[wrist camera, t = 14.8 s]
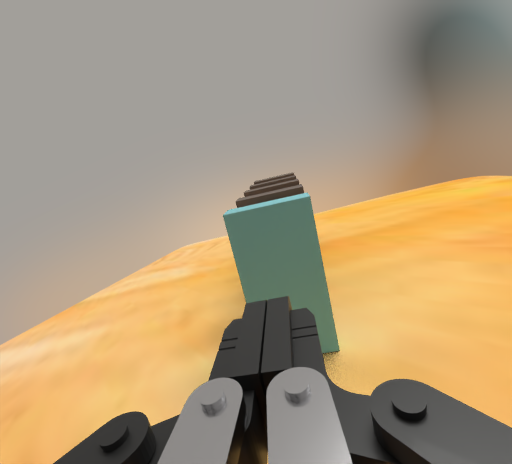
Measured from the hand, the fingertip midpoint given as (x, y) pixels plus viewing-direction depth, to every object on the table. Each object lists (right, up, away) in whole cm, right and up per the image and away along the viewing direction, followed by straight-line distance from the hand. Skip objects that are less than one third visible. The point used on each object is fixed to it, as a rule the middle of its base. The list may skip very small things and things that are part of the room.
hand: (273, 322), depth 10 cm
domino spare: (+2, -5, +9) cm, 11 cm away
